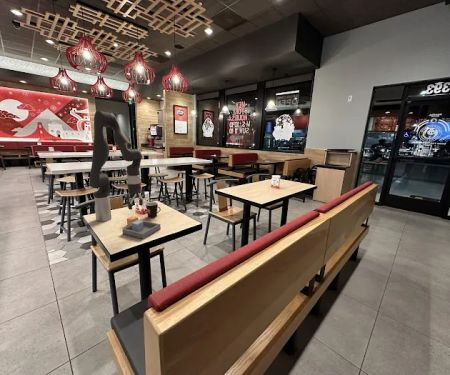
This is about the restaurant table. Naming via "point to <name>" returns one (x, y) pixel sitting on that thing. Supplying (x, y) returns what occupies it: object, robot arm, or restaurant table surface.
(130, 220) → the orange block
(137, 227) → the blue block
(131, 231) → the tray
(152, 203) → the coffee mug
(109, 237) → the restaurant table surface
